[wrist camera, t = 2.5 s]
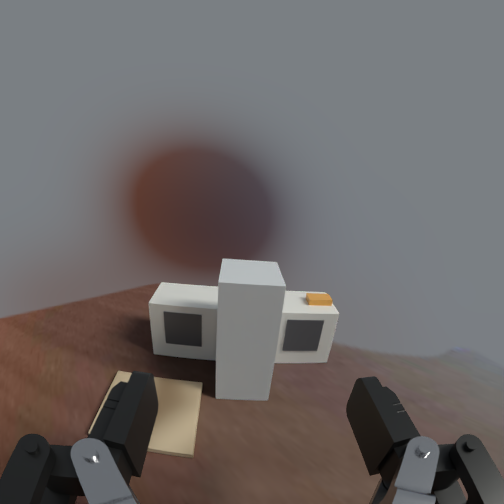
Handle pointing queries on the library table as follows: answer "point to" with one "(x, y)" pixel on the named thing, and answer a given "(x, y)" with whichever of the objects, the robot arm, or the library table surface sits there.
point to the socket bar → (205, 324)
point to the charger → (247, 328)
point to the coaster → (171, 415)
